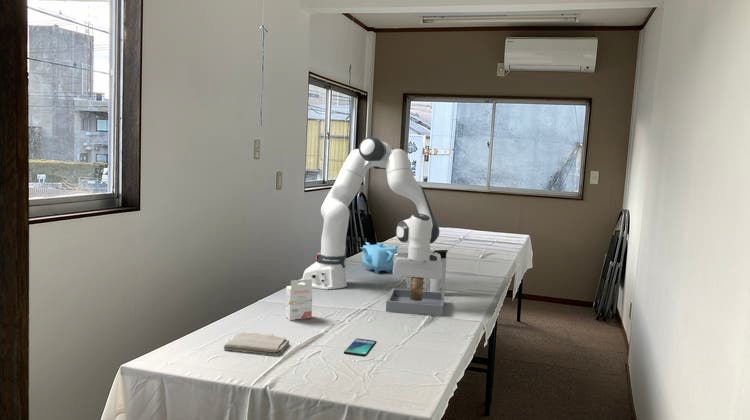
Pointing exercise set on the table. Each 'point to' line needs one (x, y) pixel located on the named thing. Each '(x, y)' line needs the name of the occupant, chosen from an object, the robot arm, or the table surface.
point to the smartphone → (360, 347)
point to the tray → (415, 303)
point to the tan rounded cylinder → (416, 289)
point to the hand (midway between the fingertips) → (416, 288)
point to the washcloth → (257, 343)
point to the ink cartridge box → (299, 300)
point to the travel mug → (439, 284)
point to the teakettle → (378, 257)
